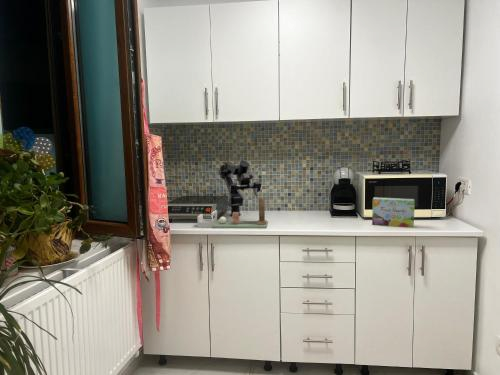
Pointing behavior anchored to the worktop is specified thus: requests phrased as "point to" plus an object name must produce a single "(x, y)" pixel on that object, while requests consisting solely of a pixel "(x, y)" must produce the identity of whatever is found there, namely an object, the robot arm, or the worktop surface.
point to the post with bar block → (260, 221)
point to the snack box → (393, 212)
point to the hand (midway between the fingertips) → (248, 196)
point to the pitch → (227, 224)
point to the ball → (222, 220)
